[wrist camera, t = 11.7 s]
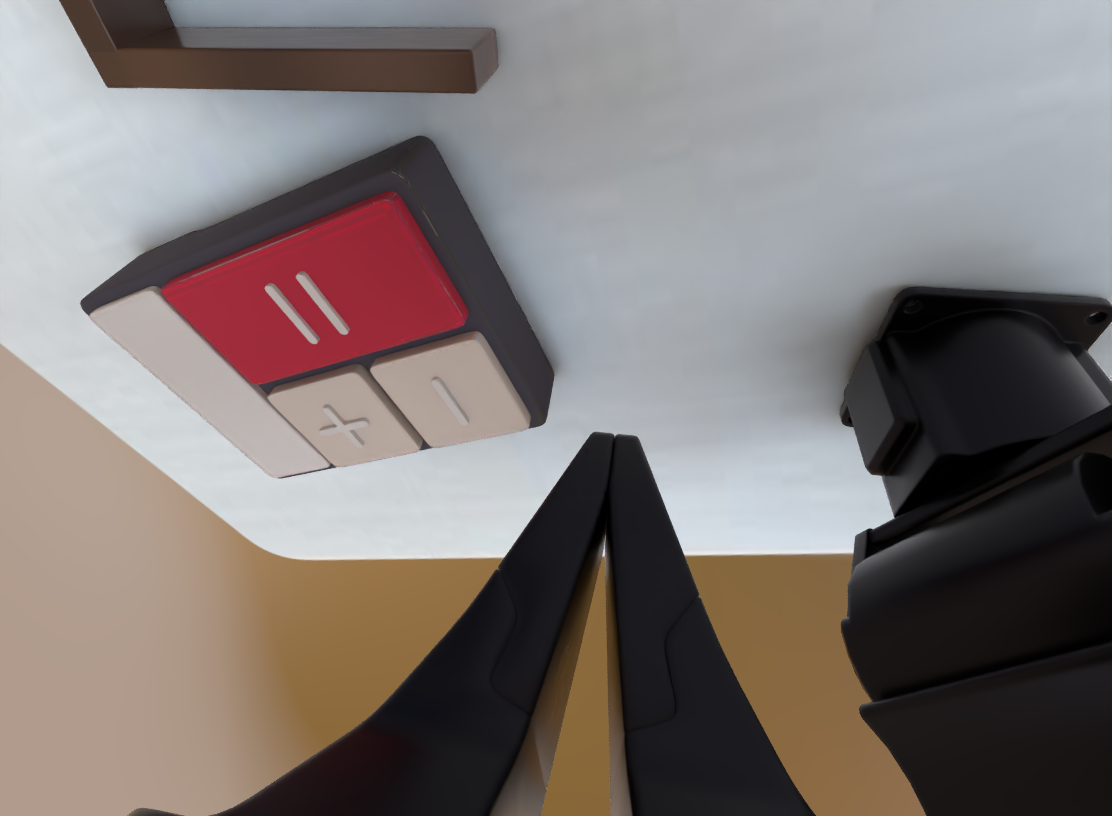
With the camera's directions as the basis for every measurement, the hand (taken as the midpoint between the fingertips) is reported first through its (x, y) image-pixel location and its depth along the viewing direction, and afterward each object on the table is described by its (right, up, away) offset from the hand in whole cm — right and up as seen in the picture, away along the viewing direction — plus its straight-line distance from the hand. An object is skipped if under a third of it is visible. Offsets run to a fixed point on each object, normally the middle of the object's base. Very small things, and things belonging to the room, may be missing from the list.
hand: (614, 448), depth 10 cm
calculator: (-10, +5, +14) cm, 17 cm away
